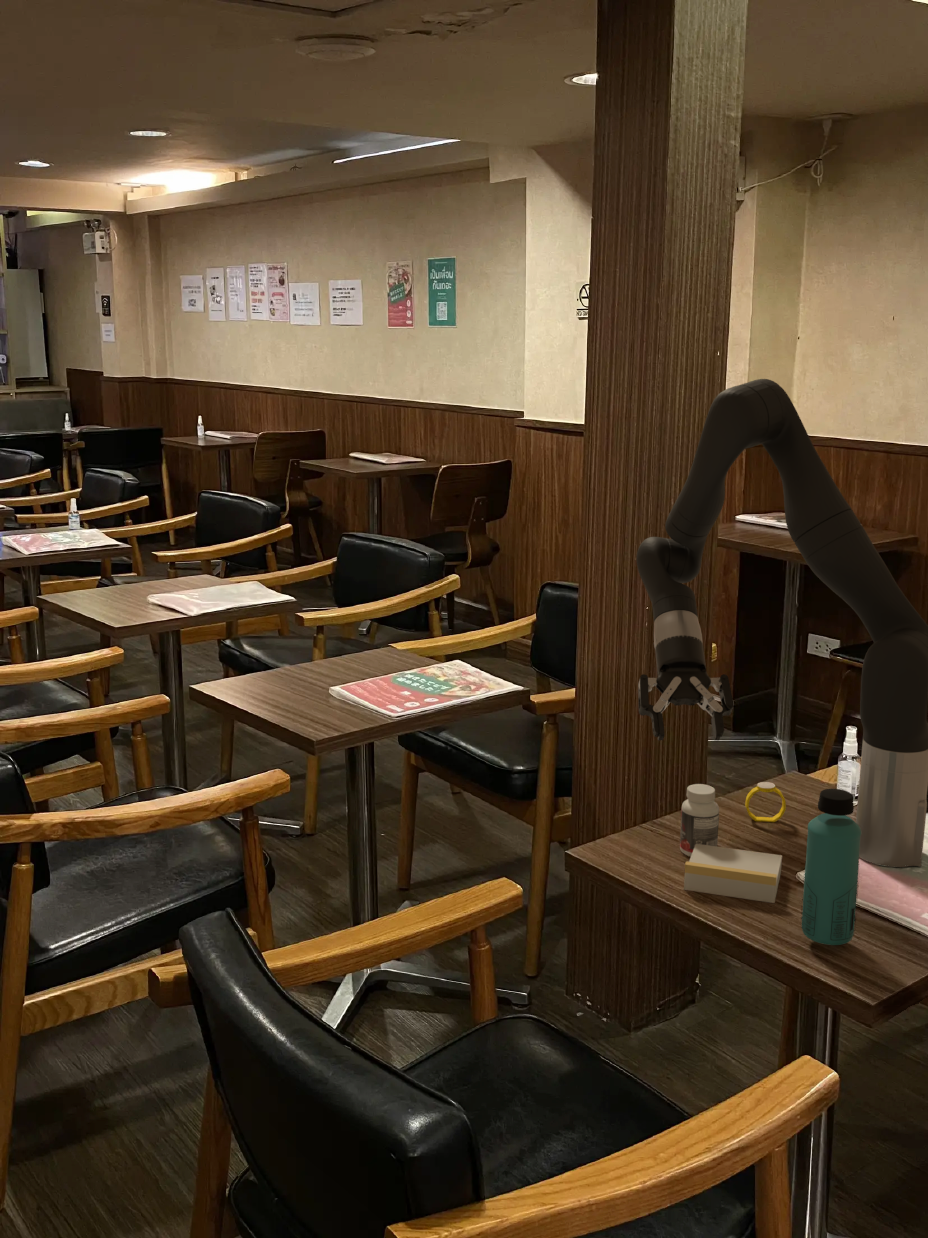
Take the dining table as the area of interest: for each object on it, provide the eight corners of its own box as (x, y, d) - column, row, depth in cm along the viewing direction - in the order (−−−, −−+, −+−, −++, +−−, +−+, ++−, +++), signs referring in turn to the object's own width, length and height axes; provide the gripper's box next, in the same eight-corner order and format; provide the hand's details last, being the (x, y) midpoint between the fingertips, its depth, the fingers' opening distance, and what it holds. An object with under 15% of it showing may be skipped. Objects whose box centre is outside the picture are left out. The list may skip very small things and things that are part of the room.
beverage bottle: (856, 960, 145) (869, 805, 140) (799, 954, 146) (811, 800, 141) (850, 934, 151) (863, 785, 146) (796, 928, 152) (807, 780, 147)
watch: (746, 825, 185) (746, 788, 183) (744, 817, 187) (744, 782, 186) (786, 824, 184) (786, 787, 183) (784, 817, 187) (783, 781, 185)
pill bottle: (675, 844, 177) (678, 782, 175) (710, 843, 177) (713, 781, 175) (685, 860, 172) (688, 796, 169) (721, 858, 172) (725, 795, 170)
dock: (780, 872, 168) (782, 847, 167) (774, 903, 159) (776, 877, 158) (695, 859, 172) (696, 835, 171) (683, 889, 163) (685, 864, 162)
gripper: (637, 633, 186) (646, 727, 178) (728, 633, 186) (741, 727, 178) (630, 657, 193) (639, 749, 184) (719, 657, 193) (731, 749, 184)
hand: (689, 738), depth 181 cm, fingers open, 8 cm apart
